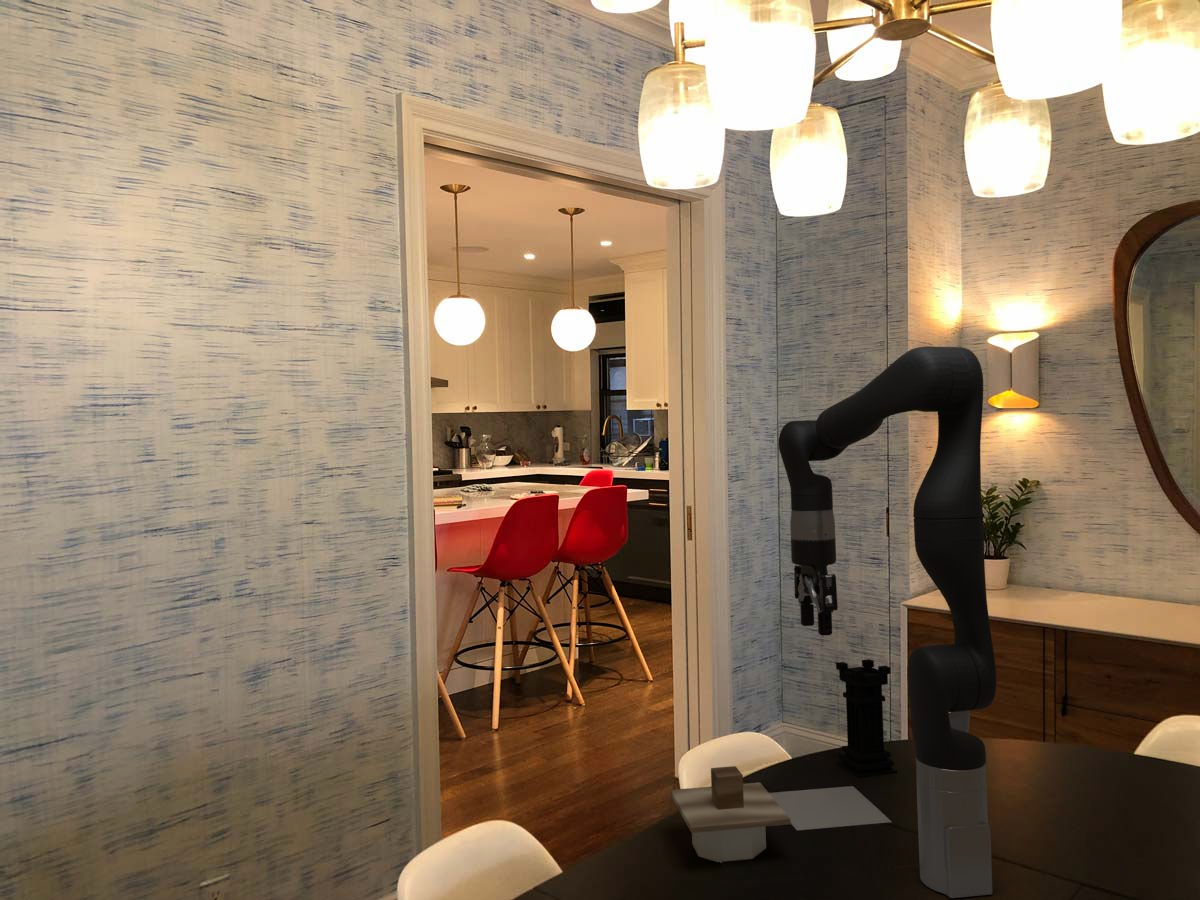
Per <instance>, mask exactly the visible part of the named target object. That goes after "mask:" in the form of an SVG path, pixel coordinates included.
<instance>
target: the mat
mask: <svg viewBox="0 0 1200 900" xmlns="http://www.w3.org/2000/svg"><path fill="white" fill-rule="evenodd" d="M768 793H769V794H770V795H771V796H772V797H773V799H774V800H775V801H776V802H777V803H778V805H779V806H780V807H781V808H782V809H783V811H784V812H785V813H786V814H787V815H788V817H789V818H790V822H791V824H790V825H791V826H792V827H794V829H795V830H796V831H808V830H817V829H818V830H819V829H828V828H829V829H830V828H841V827H851V826H863V825H864V826H865V825H875V824H887V823H892V821H891V820H890V819H889V817H887V816H886V815H885V814H884V813H883V812H882V811H881V810H880V809H879V808H877V806H875V805H874V804H873V803H872V802H871V801H870V800H869V799H868V798H866V797H865V796H864V795H863V793H861V792H860V791H859V790H858V789H857V788H856V787H854V785H851V786H839V787H826V788H812V789H811V788H810V789H803V790H802V789H801V790H789V791H778V792H768Z"/></svg>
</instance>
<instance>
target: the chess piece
mask: <svg viewBox="0 0 1200 900" xmlns="http://www.w3.org/2000/svg"><path fill="white" fill-rule="evenodd" d="M835 668H836V670H837V671H838V673H839V675H838V677H839V678H838V679H839V681H842V682H844V683H845V691H844V692H842V698H845V703H846V704H845V705H846V708H845V709H846V731H847V733H846V734H847V737H846V738H847V745H842V746H841V751H843V753H840V754H839V753H838V755H839V756H838V757H839V758H838V759H839V760H841V761H836V765H837V766H838V767H840V768H841V769H843V770H845V771H847V772H848V773H849V774H852V775H853V776H855V777H856V778H858V779H864V778H871V777H878V776H884V775H891V774H897V773H898V770H897V769H895V768H893V766H895V764H894V763H895V762H894V761H893V760H892V759H890V758H891V752H890V751H889V750H887V749H885V741H884V739H885V738H884V713H883V712H884V710H883V708H884V707H883V702H886V696H884V695H883V686H885V685H889V680H888V675H891V667H890V666H889V665H879V666H877V668H875V661H874V660H872V659H870V658H869V659H868V658H867V659H861V666H856V667H849V663H847V662H845V661H838V662H836V663H835Z"/></svg>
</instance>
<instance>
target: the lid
mask: <svg viewBox="0 0 1200 900" xmlns="http://www.w3.org/2000/svg"><path fill="white" fill-rule="evenodd" d="M743 775H744V774H743V773H741V771H740V770H739V768H737V766H736V765H735V766H733V765H732V766H720V767H711V768H710V781H711V786H704V787H703V786H702V787H701V786H699V787H691V788H688V787H687V788H678V789H670V797H671V798H672V800H673V801H674V803H675V805H676V807H677V809H678V811H679V813H680V814H681V816H682V818H683V820H684V823H685V824H686V825H687V827H688V829H689V831H690V832H691V834H692V833H698V832H709V831H720V830H731V829H742V828H754V827H765V828H766V827H776V826H785V825H786V826H787V825H792V824H791V822H790V818H789V817H788V815H787V814H786V813H785V812H784V811H783V809H782V808H781V807H780V806H779V805H778V803H777V802H776V801H775V800H774V799H773V797H772V796H771V795H770V794H769V793H770V792H768V790H767V789H766V788H765V787H764V786H763V784H762V783H761V782H751V783H744V777H743Z"/></svg>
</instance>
